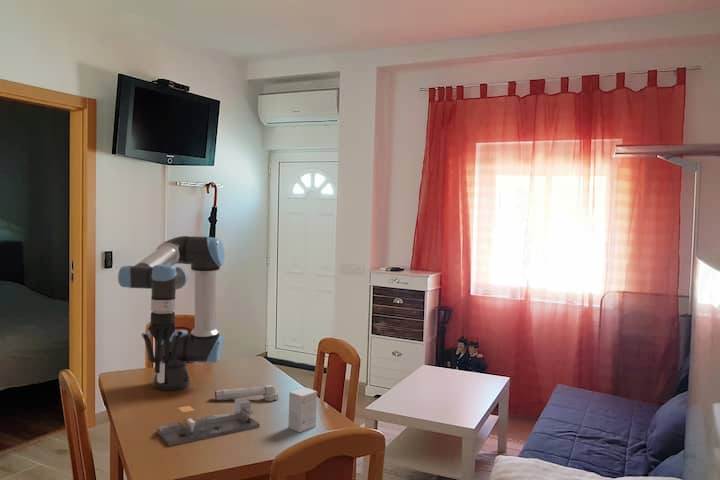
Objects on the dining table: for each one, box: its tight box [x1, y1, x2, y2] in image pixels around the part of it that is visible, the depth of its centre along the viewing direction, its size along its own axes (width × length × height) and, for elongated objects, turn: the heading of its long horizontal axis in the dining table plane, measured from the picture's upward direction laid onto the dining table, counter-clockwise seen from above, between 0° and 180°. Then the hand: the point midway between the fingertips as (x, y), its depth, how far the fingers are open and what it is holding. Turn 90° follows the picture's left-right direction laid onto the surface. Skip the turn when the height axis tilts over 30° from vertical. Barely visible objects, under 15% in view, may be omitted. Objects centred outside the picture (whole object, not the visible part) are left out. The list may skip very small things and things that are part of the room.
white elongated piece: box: [214, 384, 279, 402], centre depth 225 cm, size 5×7×25 cm
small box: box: [287, 387, 318, 433], centre depth 199 cm, size 8×6×13 cm
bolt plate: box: [155, 397, 261, 447], centre depth 193 cm, size 13×32×7 cm, turn 127°
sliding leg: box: [177, 405, 196, 432], centre depth 189 cm, size 9×4×6 cm, turn 37°
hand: (160, 381), depth 185 cm, fingers closed
